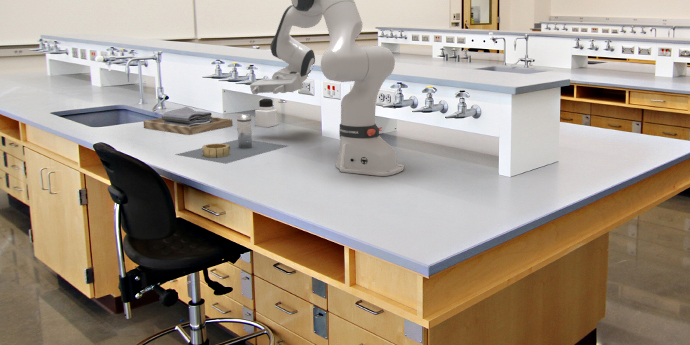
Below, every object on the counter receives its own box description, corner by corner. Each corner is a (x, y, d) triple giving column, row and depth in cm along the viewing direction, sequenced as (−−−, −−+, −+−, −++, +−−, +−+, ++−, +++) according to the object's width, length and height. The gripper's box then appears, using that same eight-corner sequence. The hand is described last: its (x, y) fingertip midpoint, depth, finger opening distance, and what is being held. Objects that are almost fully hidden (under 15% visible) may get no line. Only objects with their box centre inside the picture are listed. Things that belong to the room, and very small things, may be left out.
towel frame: (232, 125, 274) (232, 119, 274) (189, 134, 254) (189, 127, 253) (187, 119, 289) (187, 113, 289) (143, 127, 269) (143, 121, 268)
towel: (161, 129, 267) (159, 111, 265) (187, 122, 283) (185, 105, 281) (190, 132, 261) (188, 113, 259) (214, 125, 278) (213, 107, 276)
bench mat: (289, 147, 231) (289, 145, 231) (225, 165, 203) (225, 163, 203) (241, 140, 244) (241, 138, 244) (175, 156, 216) (175, 154, 216)
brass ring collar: (235, 153, 217) (234, 145, 217) (216, 158, 210) (216, 150, 209) (216, 150, 222) (215, 142, 222) (197, 155, 215) (196, 146, 214)
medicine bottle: (277, 125, 277) (277, 98, 274) (267, 127, 271) (266, 100, 268) (265, 123, 281) (264, 97, 278) (255, 126, 275) (254, 99, 272)
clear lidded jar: (255, 146, 229) (253, 114, 226) (245, 149, 225) (244, 116, 222) (244, 145, 232) (243, 113, 229) (235, 147, 228) (234, 115, 225)
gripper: (260, 74, 247) (240, 85, 236) (303, 72, 237) (284, 82, 226) (263, 89, 249) (243, 100, 238) (306, 87, 239) (288, 99, 228)
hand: (264, 92), depth 232 cm, fingers open, 8 cm apart
